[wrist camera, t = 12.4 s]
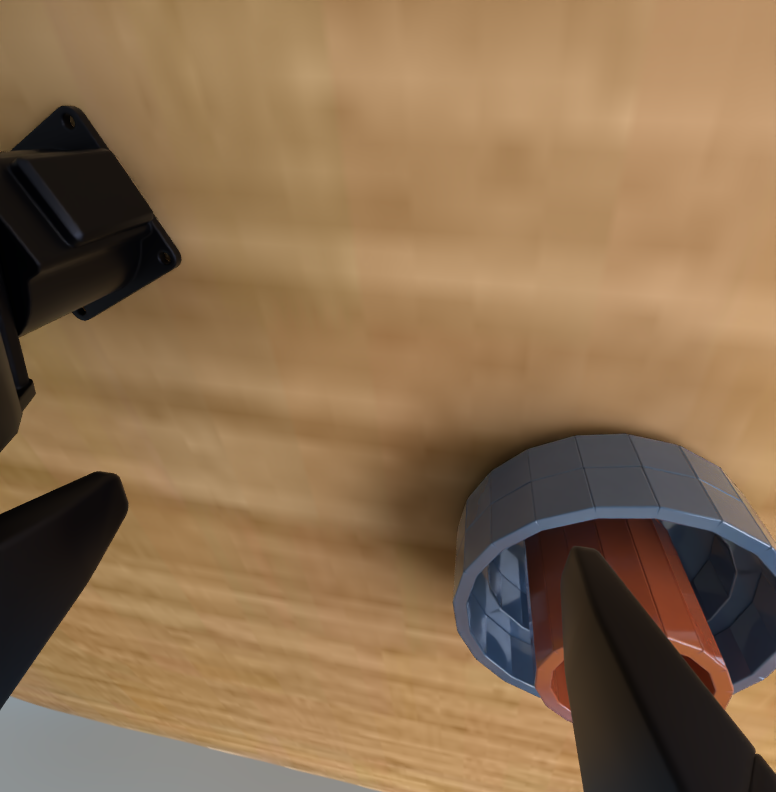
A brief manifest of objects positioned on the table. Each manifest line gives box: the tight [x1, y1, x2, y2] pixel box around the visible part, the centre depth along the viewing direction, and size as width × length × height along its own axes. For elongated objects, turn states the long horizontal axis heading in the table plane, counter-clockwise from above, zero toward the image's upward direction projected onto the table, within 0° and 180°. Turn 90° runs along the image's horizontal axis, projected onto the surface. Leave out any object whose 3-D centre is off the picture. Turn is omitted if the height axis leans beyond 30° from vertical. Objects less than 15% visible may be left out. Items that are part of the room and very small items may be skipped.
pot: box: [523, 519, 734, 723], centre depth 20 cm, size 7×7×7 cm
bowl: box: [453, 434, 776, 698], centre depth 22 cm, size 13×13×5 cm
